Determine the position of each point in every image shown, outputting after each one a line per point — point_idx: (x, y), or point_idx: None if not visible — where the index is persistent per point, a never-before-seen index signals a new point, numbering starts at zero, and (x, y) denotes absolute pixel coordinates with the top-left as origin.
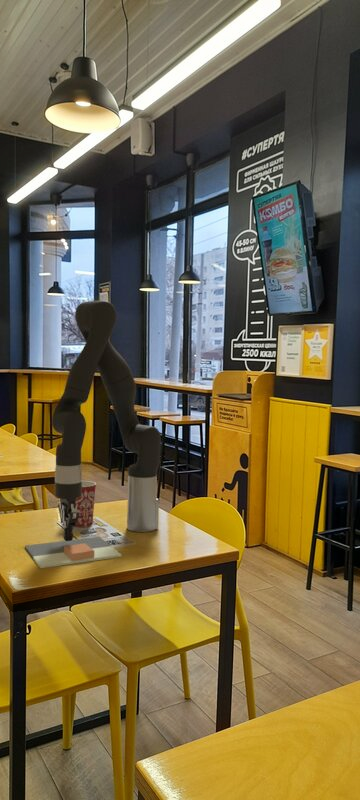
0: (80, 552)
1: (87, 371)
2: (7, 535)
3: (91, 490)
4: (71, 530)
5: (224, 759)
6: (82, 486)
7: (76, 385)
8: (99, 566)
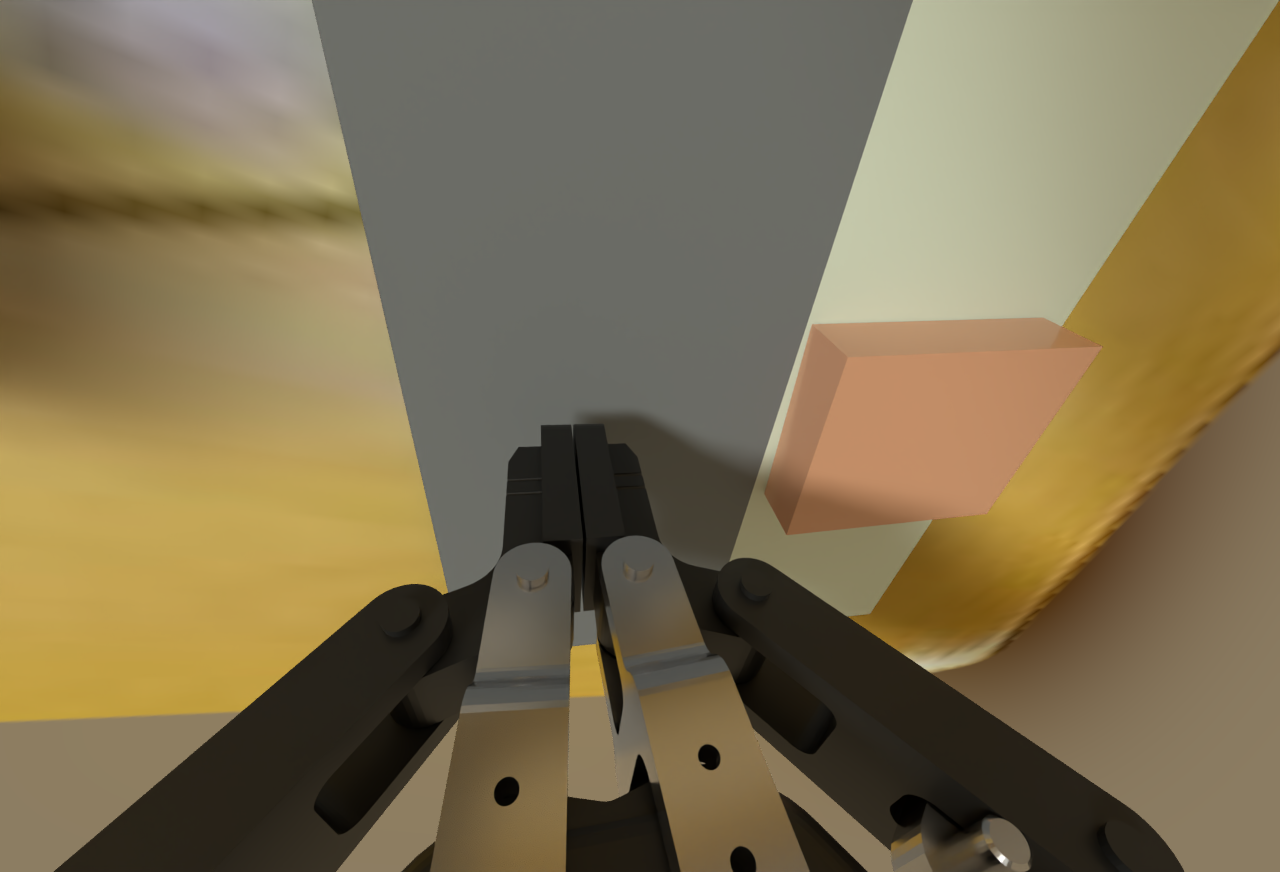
0: (1017, 464)
1: None
2: (81, 714)
3: None
4: (654, 530)
5: None
6: None
7: None
8: (1156, 327)
